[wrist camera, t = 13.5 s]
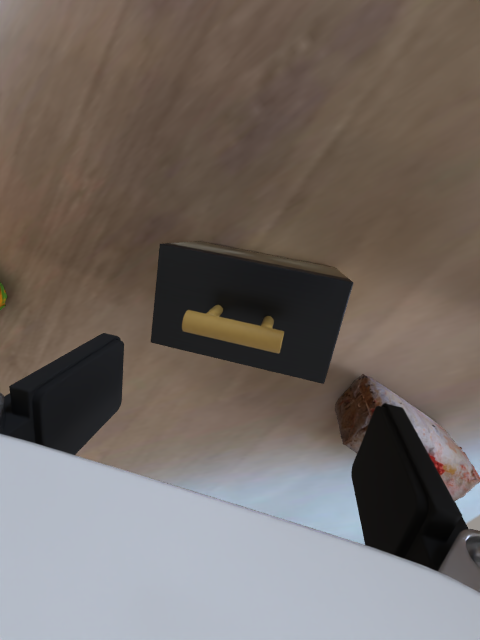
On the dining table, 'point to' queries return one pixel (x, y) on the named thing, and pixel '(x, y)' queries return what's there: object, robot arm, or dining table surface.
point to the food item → (440, 446)
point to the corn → (2, 296)
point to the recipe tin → (249, 307)
